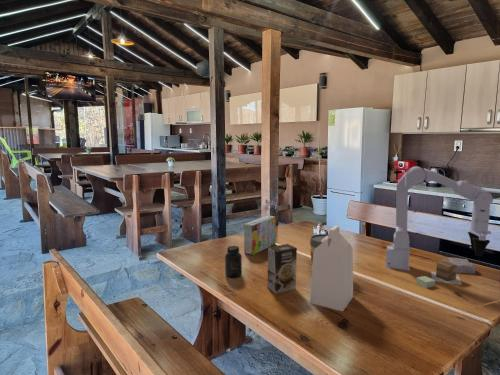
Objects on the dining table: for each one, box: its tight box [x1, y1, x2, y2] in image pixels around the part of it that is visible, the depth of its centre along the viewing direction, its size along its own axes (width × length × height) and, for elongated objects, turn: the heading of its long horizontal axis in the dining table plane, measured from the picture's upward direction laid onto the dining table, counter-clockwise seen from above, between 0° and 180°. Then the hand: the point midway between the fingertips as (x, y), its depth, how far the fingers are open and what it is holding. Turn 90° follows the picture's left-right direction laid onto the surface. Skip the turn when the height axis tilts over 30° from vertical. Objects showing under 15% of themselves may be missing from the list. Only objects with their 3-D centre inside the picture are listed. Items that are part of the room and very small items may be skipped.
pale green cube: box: [415, 275, 436, 289], centre depth 133 cm, size 4×4×3 cm
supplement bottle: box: [224, 245, 243, 279], centre depth 143 cm, size 7×7×12 cm
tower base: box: [435, 270, 458, 281], centre depth 139 cm, size 5×5×3 cm
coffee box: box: [267, 243, 298, 294], centre depth 130 cm, size 9×6×16 cm
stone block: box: [444, 257, 476, 275], centre depth 150 cm, size 12×5×10 cm
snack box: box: [243, 215, 277, 256], centre depth 176 cm, size 21×6×15 cm, turn 144°
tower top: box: [436, 260, 457, 274], centre depth 139 cm, size 5×5×3 cm
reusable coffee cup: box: [309, 233, 329, 263], centre depth 145 cm, size 13×13×15 cm
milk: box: [309, 225, 354, 312], centre depth 121 cm, size 12×12×26 cm
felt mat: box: [430, 271, 463, 286], centre depth 139 cm, size 10×10×1 cm
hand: (476, 252), depth 140 cm, fingers open, 7 cm apart
